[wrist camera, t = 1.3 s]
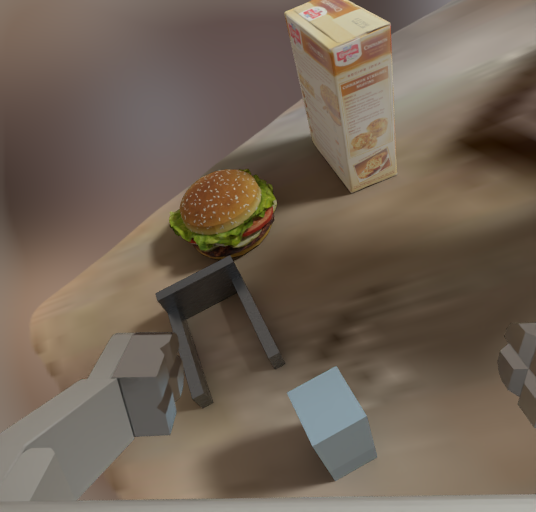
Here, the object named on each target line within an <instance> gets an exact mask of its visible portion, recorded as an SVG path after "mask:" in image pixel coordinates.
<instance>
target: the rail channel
mask: <svg viewBox="0 0 536 512" xmlns="http://www.w3.org/2000/svg"><path fill="white" fill-rule="evenodd" d="M235 293H238V295H239V297H240V299H241V301H242V303H243V305H244V308H245V310H246V312H247V314H248V316H249V318H250V320H251V322H252V324H253V327H254V329H255V331H256V333H257V335H258V337H259V339H260V341H261V343H262V346H263V348H264V350H265V352H266V354H267V356H268V358H269V360H270V362H271V363H272V365H273V367H274V368H275V369H276V368H278V367H280V366H282V365H284V364H285V362H284V360H283V358H282V356H281V354H280V352H279V350H278V348H277V346H276V344H275V342H274V340H273V338H272V336H271V334H270V332H269V330H268V328H267V326H266V324H265V322H264V320H263V318H262V316H261V314H260V312H259V310H258V308H257V306H256V304H255V302H254V300H253V298H252V296H251V294H250V292H249V290H248V288H247V286H246V284H245V282H244V280H243V278H242V277H241V275H240V273H239V271H238V269H237V267H236V265H235V263H234V261H233V260H232V258H231V256H230V255H229V256H227V257H226V258H224V259H222V260H220V261H218V262H216V263H214V264H212V265H210V266H208V267H206V268H204V269H202V270H200V271H198V272H196V273H194V274H192V275H190V276H188V277H187V278H185V279H183V280H181V281H179V282H177V283H175V284H173V285H171V286H169V287H167V288H165V289H163V290H161V291H159V292H157V293H155V294H156V297H157V301H158V302H159V303H160V304H161V306H162V307H163V308H164V309H165V310H166V311H167V313H168V316H169V319H170V323H171V326H172V330H173V332H175V333H176V334H177V336H178V341H179V349H178V351H179V354H180V357H181V359H182V361H183V367H184V371H185V375H186V378H187V382H188V385H189V389H190V392H191V396H192V399H193V400H194V401H195V402H196V403H197V404H198V405H199V406H200V407H202V408H204V407H206V406H208V405H210V404H212V403H213V400H212V397H211V394H210V391H209V388H208V385H207V382H206V379H205V376H204V372H203V369H202V366H201V363H200V360H199V357H198V354H197V351H196V348H195V345H194V342H193V339H192V336H191V333H190V330H189V326H188V323H187V320H186V319H187V318H189V317H191V316H193V315H195V314H197V313H199V312H201V311H203V310H205V309H207V308H209V307H211V306H212V305H214V304H216V303H218V302H220V301H222V300H224V299H226V298H228V297H230V296H232V295H234V294H235Z"/></svg>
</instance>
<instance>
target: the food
mask: <svg viewBox="0 0 536 512" xmlns="http://www.w3.org/2000/svg"><path fill="white" fill-rule="evenodd" d="M276 206H277V200H276V199H275V197H274V195H273V188H272V185H271V184H266V181H265V180H262V179H259V177H258V176H257V175H254V176H252V175H251V172H250V171H249V169H245V170H241V169H239V170H236V169H235V170H231V169H225V170H218V171H215V172H212V173H210V174H208V175H205V176H204V177H201V178H200V179H199V180H197V181H196V182H195V183H194V184H193V185H192V186H190V187H189V188H188V190H187V191H186V193H185V194H184V196H183V198H182V201H181V204H180V209H179V210H177V211H176V212H175V213H174V212H170V217H169V222H170V227H171V228H173V230H174V232H175V234H176V235H178V236H180V235H181V236H182V238H183V239H184V240H186V241H188V242H189V243H191V244H193V245H194V247H195V248H196V249H197V250H198V251H199V252H200V253H201V254H203V255H205V256H207V257H210V258H212V259H224V258H226V257H227V256H229V255H230V256H231V258H233V257H236V256H240V255H244V254H245V253H247V252H248V251H250V250H251V249H253V248H255V247H256V246H258V245H259V244H260V243H261V242H262V241H263V239H264V238H265V237H266V236H267V235H268V233H269V230H270V228H271V225H272V223H273V221H274V211H275V209H276Z"/></svg>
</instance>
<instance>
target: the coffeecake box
mask: <svg viewBox="0 0 536 512" xmlns="http://www.w3.org/2000/svg"><path fill="white" fill-rule="evenodd" d="M284 14H285V18H286V23H287V27H288V31H289V36H290V41H291V45H292V50H293V54H294V59H295V64H296V68H297V73H298V78H299V82H300V87H301V91H302V96H303V100H304V105H305V109H306V114H307V119H308V123H309V128H310V132H311V137H312V142H313V143H314V145H315V146H316V147H317V149H318V150H319V151H320V153H321V154H322V155H323V157H324V158H325V159H326V161H327V162H328V163H329V165H330V166H331V167H332V169H333V170H334V171H335V172H336V174H337V175H338V176H339V178H340V179H341V180H342V182H343V183H344V184H345V186H346V187H347V188H348V190H349V191H350V192H351V193H353V192H356V191H358V190H360V189H363V188H365V187H367V186H369V185H372V184H375V183H378V182H380V181H383V180H386V179H388V178H390V177H392V176H395V175H397V169H396V145H395V121H394V97H393V73H392V50H391V23H389V22H387V21H386V20H384V19H382V18H380V17H378V16H376V15H374V14H372V13H371V12H369V11H367V10H365V9H363V8H361V7H360V6H358V5H356V4H354V3H352V2H350V1H348V0H312V1H310V2H308V3H305V4H303V5H301V6H298V7H296V8H293V9H291V10H289V11H286V12H285V13H284Z"/></svg>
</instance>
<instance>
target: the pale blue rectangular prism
mask: <svg viewBox="0 0 536 512" xmlns="http://www.w3.org/2000/svg"><path fill="white" fill-rule="evenodd" d="M287 394H288V396H289V398H290V400H291V403H292V405H293V407H294V409H295V411H296V413H297V415H298V417H299V419H300V421H301V424H302V426H303V428H304V430H305V432H306V434H307V436H308V438H309V440H310V442H311V444H312V447H313V448H314V450H315V451H316V453H317V454H318V456H319V457H320V459H321V460H322V462H323V463H324V465H325V466H326V468H327V469H328V471H329V472H330V474H331V476H332V477H333V479H334V480H335V481H336V480H338V479H340V478H342V477H343V476H345V475H347V474H349V473H350V472H352V471H354V470H356V469H357V468H359V467H361V466H363V465H364V464H366V463H368V462H370V461H371V460H373V459H375V458H377V454H376V450H375V446H374V442H373V438H372V434H371V430H370V426H369V423H368V419H367V416H366V414H365V412H364V411H363V409H362V407H361V406H360V404H359V402H358V401H357V399H356V397H355V396H354V394H353V393H352V391H351V389H350V388H349V386H348V384H347V383H346V381H345V379H344V378H343V376H342V374H341V373H340V371H339V369H338V368H337V366H335V367H333V368H331V369H329V370H328V371H326V372H324V373H322V374H320V375H318V376H317V377H315V378H313V379H311V380H309V381H307V382H306V383H304V384H302V385H300V386H298V387H296V388H295V389H293V390H291V391H289V392H287Z"/></svg>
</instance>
